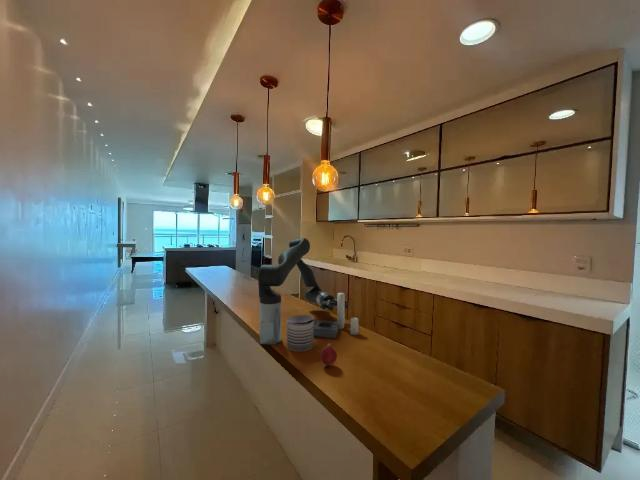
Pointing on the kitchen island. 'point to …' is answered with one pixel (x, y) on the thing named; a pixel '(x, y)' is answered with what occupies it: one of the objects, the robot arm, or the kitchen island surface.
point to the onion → (328, 355)
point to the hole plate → (325, 328)
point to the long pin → (340, 309)
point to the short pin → (354, 326)
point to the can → (300, 332)
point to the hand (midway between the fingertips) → (339, 307)
